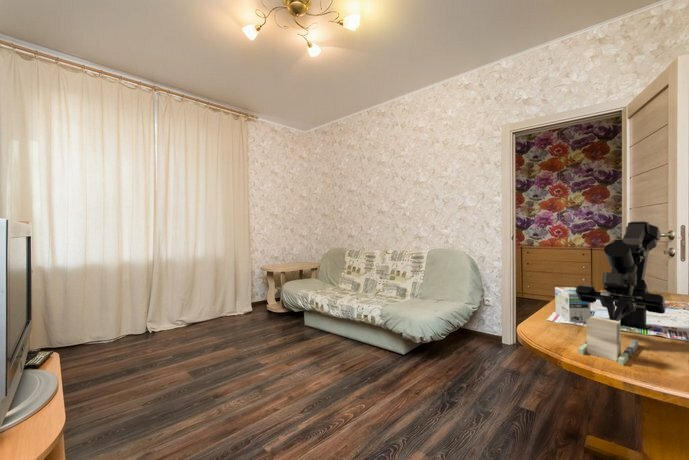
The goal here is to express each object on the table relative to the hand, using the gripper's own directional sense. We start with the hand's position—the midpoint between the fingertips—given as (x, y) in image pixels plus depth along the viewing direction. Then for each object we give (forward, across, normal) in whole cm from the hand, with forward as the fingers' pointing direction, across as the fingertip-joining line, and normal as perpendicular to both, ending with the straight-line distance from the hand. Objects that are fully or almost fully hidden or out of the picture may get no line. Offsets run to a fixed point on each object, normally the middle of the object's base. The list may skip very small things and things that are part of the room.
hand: (612, 323), depth 85 cm
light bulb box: (-8, -15, +19) cm, 26 cm away
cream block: (+11, 0, -2) cm, 11 cm away
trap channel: (+8, 0, +2) cm, 8 cm away
